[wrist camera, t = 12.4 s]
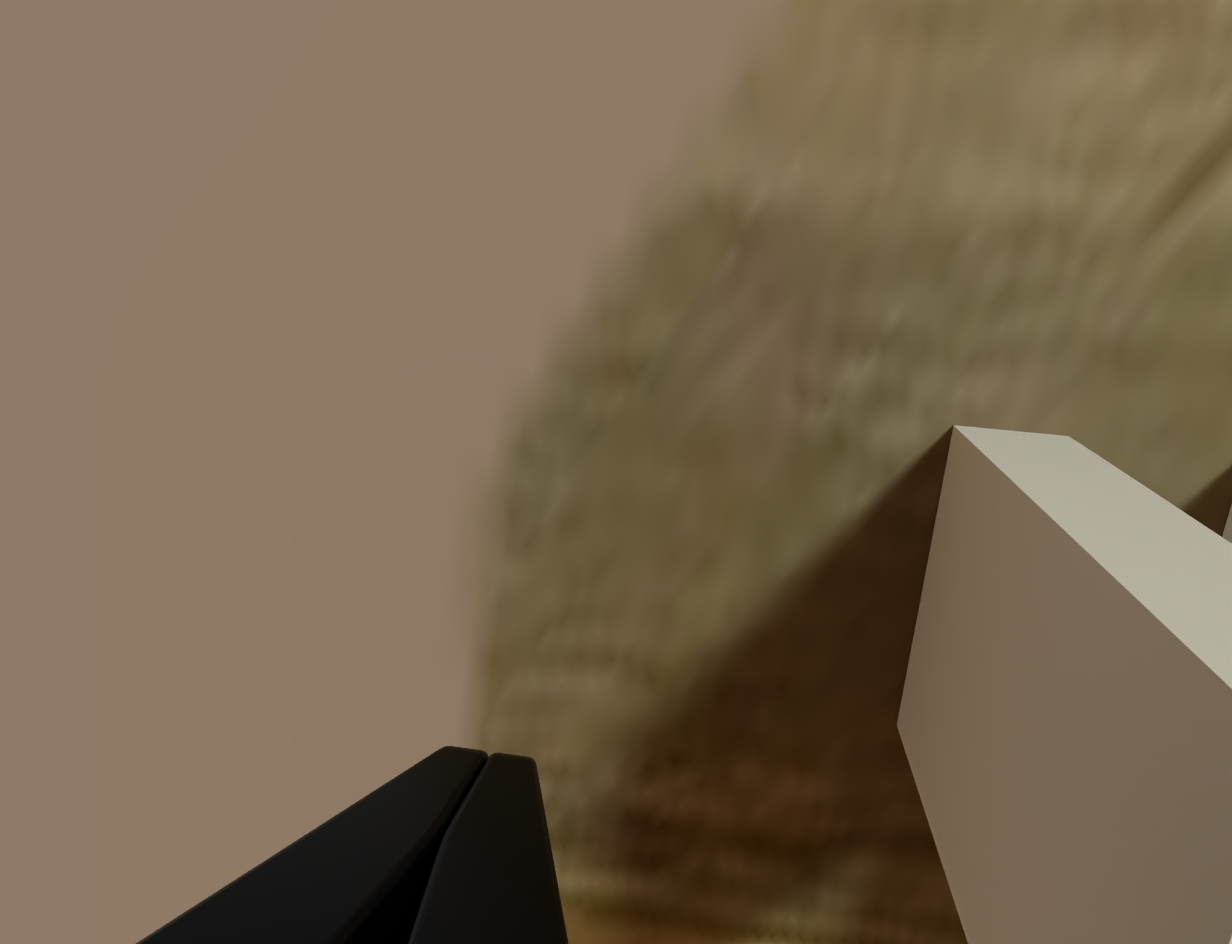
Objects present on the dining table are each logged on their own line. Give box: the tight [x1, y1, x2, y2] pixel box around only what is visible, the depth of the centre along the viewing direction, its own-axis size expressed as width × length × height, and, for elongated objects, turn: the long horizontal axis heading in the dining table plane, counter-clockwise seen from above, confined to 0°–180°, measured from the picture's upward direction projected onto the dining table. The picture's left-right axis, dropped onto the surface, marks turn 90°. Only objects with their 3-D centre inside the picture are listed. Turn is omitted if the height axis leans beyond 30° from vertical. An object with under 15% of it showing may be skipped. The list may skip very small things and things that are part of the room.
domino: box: [897, 425, 1232, 944], centre depth 9 cm, size 2×5×8 cm, turn 176°
